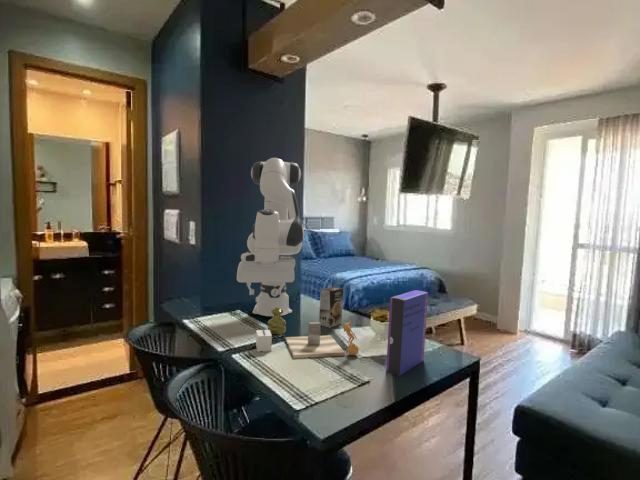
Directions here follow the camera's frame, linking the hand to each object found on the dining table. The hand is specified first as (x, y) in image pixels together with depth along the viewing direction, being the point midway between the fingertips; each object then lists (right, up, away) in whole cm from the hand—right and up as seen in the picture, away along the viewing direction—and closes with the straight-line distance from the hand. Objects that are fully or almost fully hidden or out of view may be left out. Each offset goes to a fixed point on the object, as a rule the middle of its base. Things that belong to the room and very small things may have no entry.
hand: (265, 294), depth 136 cm
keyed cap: (-1, -19, +2) cm, 19 cm away
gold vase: (+2, -18, +20) cm, 27 cm away
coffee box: (+24, -18, +34) cm, 45 cm away
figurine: (+30, -21, -2) cm, 37 cm away
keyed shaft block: (+17, -20, +4) cm, 26 cm away
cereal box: (+48, -22, -9) cm, 53 cm away
